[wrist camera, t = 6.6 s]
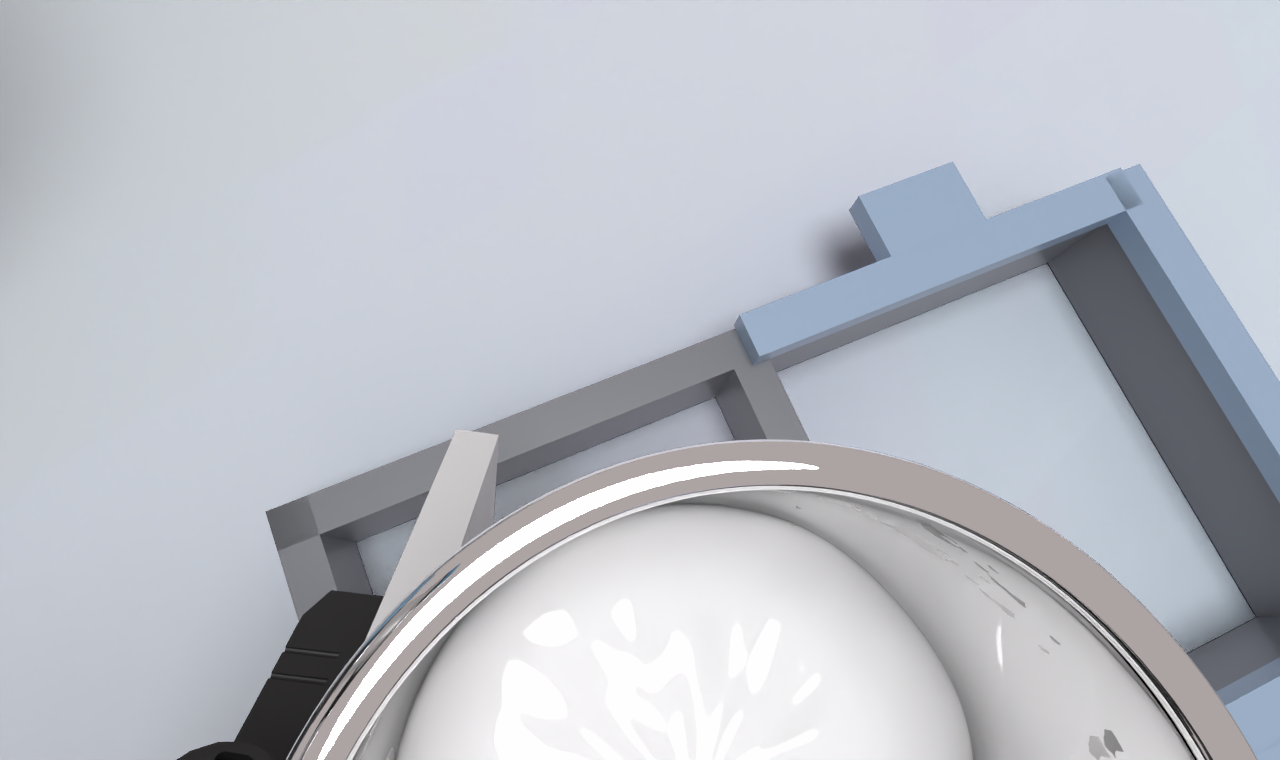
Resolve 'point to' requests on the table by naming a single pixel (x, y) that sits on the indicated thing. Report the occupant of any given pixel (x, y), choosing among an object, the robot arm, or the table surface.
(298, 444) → the table surface
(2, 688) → the table surface
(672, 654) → the drinking glass
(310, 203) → the table surface
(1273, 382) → the open frame
